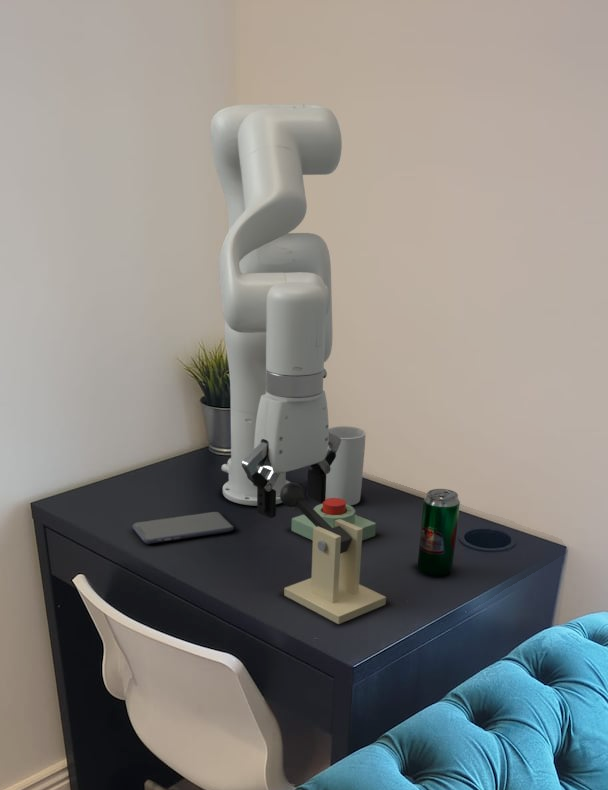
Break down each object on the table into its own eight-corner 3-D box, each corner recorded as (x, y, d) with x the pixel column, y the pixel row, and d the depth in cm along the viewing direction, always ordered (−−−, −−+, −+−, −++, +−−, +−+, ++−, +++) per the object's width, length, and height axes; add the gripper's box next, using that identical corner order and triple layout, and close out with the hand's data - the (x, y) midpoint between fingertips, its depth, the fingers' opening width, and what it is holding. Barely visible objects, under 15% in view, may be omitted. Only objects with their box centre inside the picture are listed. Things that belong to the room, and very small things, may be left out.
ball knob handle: (272, 499, 136) (278, 480, 133) (290, 494, 138) (297, 475, 135) (330, 559, 130) (338, 541, 128) (348, 553, 132) (356, 534, 129)
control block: (291, 530, 156) (291, 507, 154) (331, 517, 161) (332, 494, 159) (334, 550, 149) (335, 526, 147) (375, 535, 154) (376, 512, 152)
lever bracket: (283, 595, 136) (285, 524, 131) (330, 577, 141) (333, 508, 136) (338, 624, 129) (342, 550, 123) (385, 604, 134) (391, 532, 128)
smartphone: (235, 527, 155) (144, 540, 150) (235, 532, 155) (145, 546, 150) (218, 510, 161) (131, 522, 156) (218, 516, 161) (131, 528, 156)
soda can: (410, 570, 143) (417, 493, 137) (430, 560, 146) (438, 484, 140) (438, 581, 140) (446, 503, 134) (458, 570, 143) (467, 493, 137)
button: (317, 511, 153) (318, 501, 153) (334, 506, 155) (334, 496, 155) (333, 518, 151) (334, 507, 150) (350, 512, 153) (350, 502, 152)
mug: (367, 505, 165) (371, 437, 160) (329, 508, 164) (332, 440, 158) (348, 485, 174) (351, 419, 168) (312, 488, 173) (314, 422, 167)
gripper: (323, 367, 134) (318, 485, 143) (224, 388, 125) (226, 514, 133) (361, 378, 129) (354, 500, 138) (262, 401, 120) (261, 530, 128)
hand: (291, 506), depth 136 cm, fingers open, 8 cm apart
